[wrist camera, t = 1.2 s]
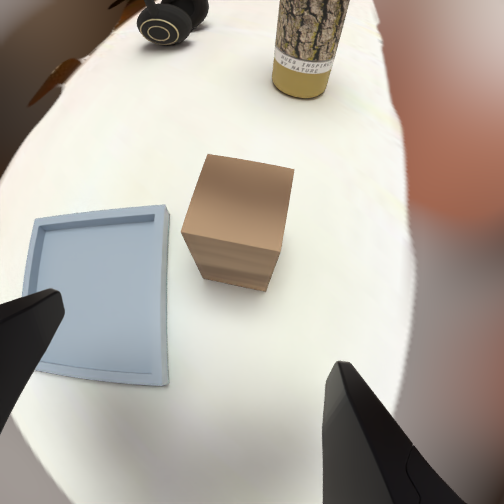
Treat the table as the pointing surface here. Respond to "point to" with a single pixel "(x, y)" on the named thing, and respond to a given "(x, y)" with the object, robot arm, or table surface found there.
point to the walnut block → (238, 220)
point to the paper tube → (306, 45)
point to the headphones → (171, 20)
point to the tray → (105, 292)
